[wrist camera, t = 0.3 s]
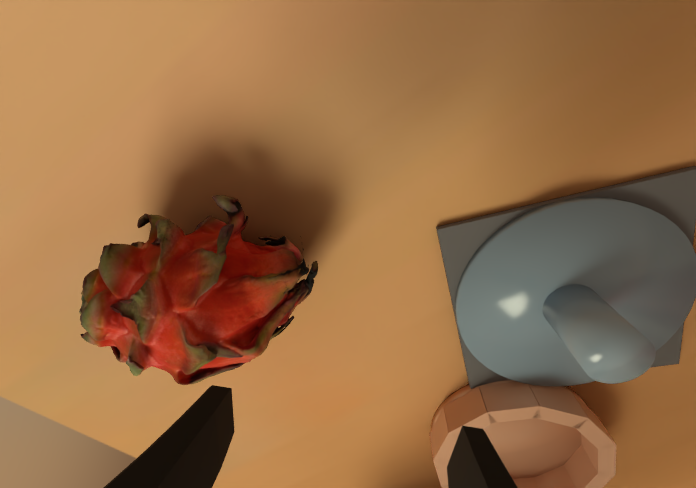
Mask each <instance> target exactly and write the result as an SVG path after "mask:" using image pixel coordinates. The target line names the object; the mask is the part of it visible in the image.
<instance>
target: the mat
mask: <svg viewBox="0 0 696 488" xmlns="http://www.w3.org/2000/svg"><path fill="white" fill-rule="evenodd" d="M585 197H605V198H615V199H620V200H626V201H629V202H632V203H635V204H638V205H641V206H644V207H647V208H649V209H651V210H653V211H655V212H657V213H659V214H661V215H663V216H665V217H666V218H668V219H669V220H670V221H672V222H673V223H674V224H676V225H677V226H678V227H679V228H680V229H681V230H682V231H683V233H684V234H685V235H686V236H687V238H688V239H689V241H690V243H691V244H692V246H693V240H694V232H695V223H696V166H692V167H688V168H684V169H680V170H675V171H671V172H667V173H663V174H658V175H654V176H650V177H646V178H642V179H637V180H633V181H629V182H625V183H620V184H616V185H612V186H608V187H603V188H599V189H595V190H591V191H587V192H582V193H578V194H574V195H570V196H565V197H561V198H557V199H553V200H549V201H544V202H540V203H536V204H532V205H527V206H523V207H519V208H515V209H510V210H506V211H502V212H498V213H494V214H489V215H485V216H481V217H477V218H472V219H468V220H464V221H460V222H455V223H451V224H447V225H443V226H439V227H436V229H437V233H438V238H439V243H440V248H441V252H442V257H443V262H444V267H445V271H446V276H447V281H448V286H449V290H450V295H451V300H452V305H453V310H454V314H455V296H456V291H457V286H458V283H459V280H460V278H461V275H462V273H463V271H464V269H465V267H466V265H467V263H468V262H469V260H470V259H471V258H472V256H473V255H474V253H475V252H476V251H477V250H478V249H479V247H480V246H481V245H482V244H483V243H484V242H485V241H486V240H487V239H488V238H489V237H490V236H492V235H493V234H494V233H495V232H496V231H497V230H499V229H500V228H502V227H503V226H504V225H506V224H507V223H509V222H510V221H512V220H514V219H516V218H517V217H519V216H521V215H523V214H525V213H527V212H529V211H532V210H534V209H536V208H539V207H541V206H544V205H548V204H551V203H555V202H558V201H563V200H568V199H574V198H585ZM455 319H456V315H455ZM456 324H457V321H456ZM683 325H684V322H683V324H682V325H681V326H680V328H679V329H678V330H677V332H676V333H675V334H674V335H673V336H672V337H671V338H670V339H669V340H668V341H667V342H666V343H665V344H664V345H663V346H662V347H660V348H659V349H658V350H657V351H656V356H655V360H654V362H653V364H652V365H651V367H657V366H665V365H673V364H679V359H680V351H681V342H682V334H683ZM457 329H458V333H459V338H460V343H461V348H462V352H463V357H464V362H465V367H466V371H467V376H468V381H469V385H470V389H473V388H475V387H478V386H481V385H485V384H488V383H493V382H498V381H507V380H511V379H508V378H506V377H503V376H501V375H499V374H497V373H495V372H493V371H492V370H490V369H488V368H487V367H486V366H484V365H483V364H482V363H481V362H479V361H478V360H477V359H476V357H475V356H474V355H473V354H472V353H471V352H470V350H469V349H468V348H467V346H466V345H465V342H464V340H463V338H462V336H461V334H460V331H459V328H458V324H457Z"/></svg>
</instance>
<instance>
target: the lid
mask: <svg viewBox="0 0 696 488" xmlns="http://www.w3.org/2000/svg"><path fill="white" fill-rule="evenodd" d="M695 298H696V254H695V251H694V248H693V246H692V244H691V243H690V241H689V239H688V238H687V236H686V235H685V234H684V233H683V231H682V230H681V229H680V228H679V227H678V226H677V225H676V224H674V223H673V222H672V221H670V220H669V219H668V218H666V217H665V216H663V215H661V214H659V213H657V212H655V211H653V210H651V209H649V208H647V207H644V206H641V205H638V204H635V203H632V202H629V201H626V200H620V199H615V198H605V197H585V198H574V199H568V200H563V201H558V202H555V203H551V204H548V205H544V206H541V207H539V208H536V209H534V210H532V211H529V212H527V213H525V214H523V215H521V216H519V217H517V218H516V219H514V220H512V221H510V222H509V223H507V224H506V225H504V226H503V227H502V228H500V229H499V230H497V231H496V232H495V233H494V234H493V235H492V236H490V237H489V238H488V239H487V240H486V241H485V242H484V243H483V244H482V245H481V246H480V247H479V249H478V250H477V251H476V252H475V253H474V255H473V256H472V258H471V259H470V260H469V262H468V263H467V265H466V267H465V269H464V271H463V273H462V275H461V278H460V280H459V283H458V286H457V291H456V296H455V315H456V321H457V324H458V328H459V331H460V334H461V336H462V338H463V340H464V342H465V345H466V346H467V348H468V349H469V350H470V352H471V353H472V354H473V355H474V356H475V357H476V359H477V360H478V361H479V362H481V363H482V364H483V365H484V366H486V367H487V368H488V369H490V370H492V371H493V372H495V373H497V374H499V375H501V376H503V377H506V378H508V379H511V380H514V381H517V382H521V383H526V384H531V385H538V386H571V385H578V384H584V383H589V382H593V381H598V382H602V383H609V384H614V383H622V382H627V381H630V380H632V379H635V378H637V377H639V376H640V375H642V374H643V373H645V372H646V371H647V370H648V369H649V368H650V367H651V365H652V364H653V362H654V360H655V356H656V351H657V350H658V349H659V348H660V347H662V346H663V345H664V344H665V343H666V342H667V341H668V340H669V339H670V338H671V337H672V336H673V335H674V334H675V333H676V332H677V330H678V329H679V328H680V326H681V325H682V324H683V322H684V321H685V319H686V317H687V316H688V314H689V312H690V310H691V308H692V306H693V303H694V301H695Z"/></svg>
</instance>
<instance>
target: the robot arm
mask: <svg viewBox="0 0 696 488" xmlns="http://www.w3.org/2000/svg"><path fill="white" fill-rule="evenodd" d="M233 434H234V420H233V405H232V390H231V388H226V387H220V386H213V385H212V386H211V387H209V388H208V389H207V390H206V392H205V393H204V394H203V395H202V396H201V397H200V398H199V399H198V400H197V401H196V402H195V403H194V404H193V405H192V406H191V407H190V408H189V409H188V410H187V411H186V412H185V413H184V414H183V415H182V416H181V417H180V418H179V419H178V420H177V421H176V422H175V423H174V424H173V425H172V426H171V427H170V428H169V429H168V430H167V431H166V432H165V433H163V434H162V435H161V436H160V437H159V438H158V439H157V440H156V441H155V442H154V443H153V444H152V445H151V446H150V447H149V448H148V449H147V450H146V451H144V452H143V453H142V454H141V455H140V456H139V457H138V458H137V459H136V460H134V461H133V462H132V463H131V464H130V465H129V466H128V467H127V468H125V469H124V470H123V471H122V472H121V473H120V474H119V475H118V476H116V477H115V478H114V479H113V480H112V481H111V482H110V483H108V484H107V485H106V486H105V487H104V488H212V486H213V484H214V482H215V480H216V478H217V475H218V473H219V471H220V469H221V467H222V464H223V461H224V459H225V456H226V453H227V451H228V448H229V445H230V442H231V440H232V437H233ZM447 476H448V487H449V488H518V487H517V485H516V484H515V482H514V480H513V479H512V477H511V475H510V474H509V472H508V470H507V469H506V467H505V465H504V464H503V462H502V460H501V459H500V457H499V455H498V453H497V452H496V450H495V448H494V446H493V445H492V443H491V441H490V439H489V438H488V436H487V434H486V432H485V431H484V430H483V429H481V428H475V427H468V426H462V428H461V431H460V433H459V436H458V439H457V441H456V444H455V446H454V449H453V452H452V454H451V457H450V460H449V462H448V465H447Z"/></svg>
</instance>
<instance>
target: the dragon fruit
mask: <svg viewBox="0 0 696 488" xmlns="http://www.w3.org/2000/svg"><path fill="white" fill-rule="evenodd" d="M212 198H213V199H214V200H215V202H216V203H217V205H218V206H219V207H220V208H222V209H223V210H224V211H226V212H227V214H228V217H229V225H227V224H226V223H225V222H223V221H221V220H218V219H216V218H214V217H212V216H209V217H207V218H206V219H205V221H204V222H201V223H200V224H199V225H198V226H197V228H196V229H195V231H194V232H193V233H191V234H188V235H184V233H183V230H182V229H181V228H180V227H179V226H177V225H175V224H174V223H172V222H171V221H170V220H169V219H166V218H164V217H162V216H159V215H148V214H144V215H143V216H142V217H140V218H139V220H138V228H140V227H142V226H144V225H145V224H147V223H149V222H150V224H151V231H150V235H149V240H148V241H147V242H146V243H143V242H136V243H132V244H131V245H127V244H112V243H110V244H109V245H106V246H104V247H103V251H102V255H101V257H100V264H99V267H98V269H95V270H93V271H91V272H90V273H89V274H88V275H87V276H86V277H85V278H84V281H83V291H82V293H81V294H82V301H83V302H82V306H81V309H80V311H79V312H80V314H81V316H80V321H81V325H82V326H83V327H84V329H86V330H87V331H88V332H86V333H85V334H81V336H82V338H83V339H85V340H86V341H87V342H89V343H91V344H93V345H96V346H98V347H104V346H111V348H112V350H113V353H114V354H115V356H116V359H117V360H118V361H119V362H126V364H127V365H128V366H129V367H130V371H131V373H132V374H133V375H134V376H138V375H140V374H141V372H142V371H143V370H145V369H147V368H149V367H151V366H153V367H156V368H159V369H162V370H165V371H167V372H168V373H170V374H171V375H172V376H173V378H174V380H175V381H176V382H177V383H178V384H182V385H188V384H194V383H197V382H200V381H202V380H204V379H206V378H208V377H211V376H214V375H217V374H219V373H222V372H225V371H229V370H233V369H235V368H238V367H240V366H241V365H243V364H244V363H246V362H250V361H251V360H252V359H254V358H256V357H258V356H259V355H261V354H262V353H263V352H264V351H265V349H266V348H267V346H268V343H269V341H270V340H271V339H272V338H274V337H276V336H277V335H279V334H280V333H281V332H282V331H283V330H284V329H285V328H286V327H287V326H288V325H289V324H290V323H291V321H292V320H293V319H294V316H292V317H291V318H290V319H289V316H290V315H291V314H292V312H293V310H294V309H295V307H296V306H297V305H298V304H300V303H301V302H302V301H303V300H304V299H305V298H306V297H308V295H309V294H310V293H311V291H312V287H313V284H314V279H313V278H314V277H315V276H316V275H317V272H318V263H317V261H315V262H313V263H312V267H311V270H310V272H309V268H307V267H306V264H305V261H304V259H303V262H302V263H301V261H302V255H301V252H300V251H299V249H298V248H297V247H296V246H295V245H293V244H292V243H291V242H290V241H289V240H288V239H287V238H286V237H285V236H283V237H281V238H279V239H278V238H273V237H271V236H270V237H268V236H267V237H262V238H260V237H258V238H259V239H260V240H265V241H267V240H271V241H268V242H266V243H265V244H267V246H258V245H255V244H253V243H250V242H245V241H243V240H242V237H241V231H242V230H243V229H244V228H245V226H246V224H247V221H248V216H246V220H245V214H244V211H243V209H242V207H241V204H240V203H239V201H238V200H237V199H235V198H232V197H227V196H223V195H222V196H220V195H216V196H213V197H212ZM300 237H301V236H300ZM301 244H302V243H301ZM269 245H270V246H269ZM303 250H304V249H303ZM308 272H309V274H308V276H307V279H306V280H305V279H303V280H301V281H300V282H299V283H297V281H298V280H299V278H300V277H301V276H303V275H305V274H307V273H308ZM278 326H281V327H280V328H278ZM284 327H285V328H284ZM283 328H284V329H283ZM282 329H283V330H282Z"/></svg>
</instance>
